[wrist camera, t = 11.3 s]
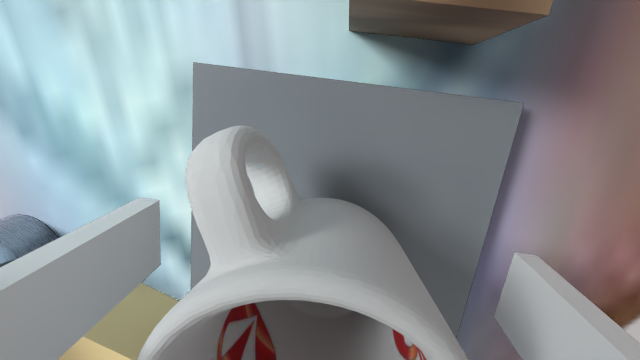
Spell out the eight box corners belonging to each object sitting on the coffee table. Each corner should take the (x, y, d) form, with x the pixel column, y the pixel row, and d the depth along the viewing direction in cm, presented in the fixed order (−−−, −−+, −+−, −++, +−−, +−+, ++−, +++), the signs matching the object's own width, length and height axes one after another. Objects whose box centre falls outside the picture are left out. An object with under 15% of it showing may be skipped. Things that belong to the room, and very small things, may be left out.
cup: (183, 151, 14) (-27, 224, 6) (357, 80, 12) (372, 56, 5) (281, 348, 16) (218, 583, 8) (436, 307, 15) (535, 542, 7)
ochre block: (96, 323, 18) (28, 385, 14) (116, 269, 17) (48, 320, 13) (160, 353, 18) (110, 422, 14) (183, 301, 17) (136, 361, 13)
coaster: (199, 317, 17) (190, 330, 16) (204, 64, 14) (193, 62, 13) (440, 356, 16) (446, 373, 16) (511, 102, 13) (524, 103, 12)
